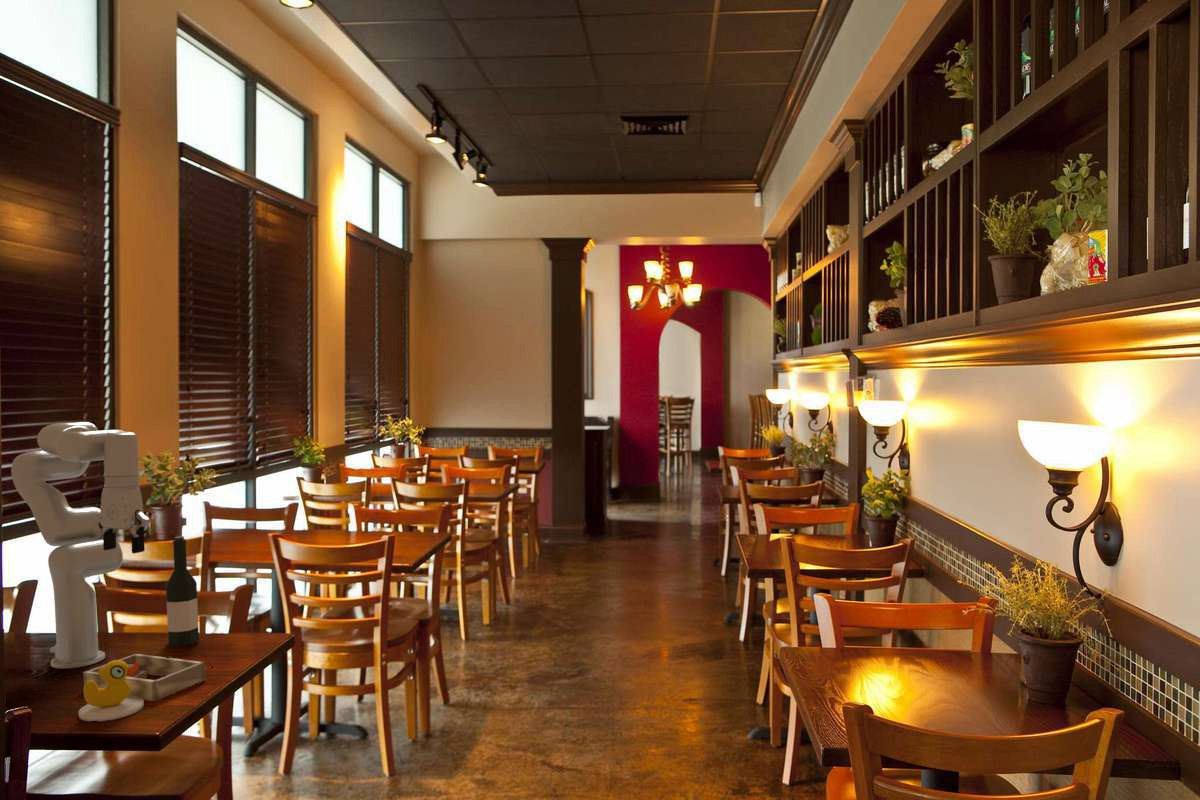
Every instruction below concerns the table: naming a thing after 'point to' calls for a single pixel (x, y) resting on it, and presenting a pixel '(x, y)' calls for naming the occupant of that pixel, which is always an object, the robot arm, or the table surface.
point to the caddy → (174, 670)
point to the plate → (112, 710)
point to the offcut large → (141, 675)
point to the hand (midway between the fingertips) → (124, 550)
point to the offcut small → (136, 672)
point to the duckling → (110, 684)
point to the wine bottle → (181, 600)
